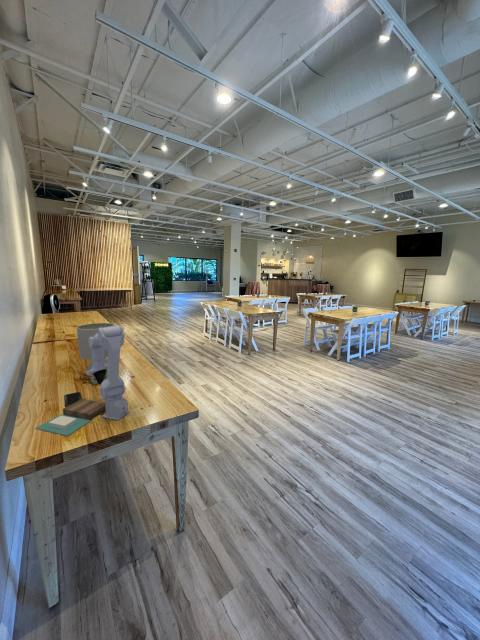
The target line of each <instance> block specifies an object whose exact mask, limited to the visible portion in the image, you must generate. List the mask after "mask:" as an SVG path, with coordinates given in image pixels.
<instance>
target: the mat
mask: <svg viewBox="0 0 480 640" xmlns="http://www.w3.org/2000/svg"><path fill="white" fill-rule="evenodd" d="M59 416H66V417H71V418H76V419H77V423H76V424H74V425H73V426H71V427H69V428H68V429H66V430H62V429H58V428H53V427H49V422H50V421H52V420H54V419H56V418H58V417H59ZM91 422H92V419H91V420H87V419H82V418H77V417H72V416H67V415H63V414H58V415H57V416H55V417H53V418H51V419H50V420H48V421H46V422H44V423H43V424H40V425H39V426H37V427H35V429H36V430H39V431H44V432H48V433H53V434H56V435H61V436H66V437H68V436H71V434H73V433H75V432H77V431H78V430H79V429H81V428H83V427H84V426H86V425H88V424H89V423H91Z"/></svg>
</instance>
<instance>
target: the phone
mask: <svg viewBox="0 0 480 640" xmlns="http://www.w3.org/2000/svg"><path fill="white" fill-rule="evenodd" d="M63 397H64V408H66V407H68V406H69V405H71V404H73V403H75V402H77V401H79V400H81V399H83V397H82V392H81V391H77V392H71V393H66V394H64V395H63Z"/></svg>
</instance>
